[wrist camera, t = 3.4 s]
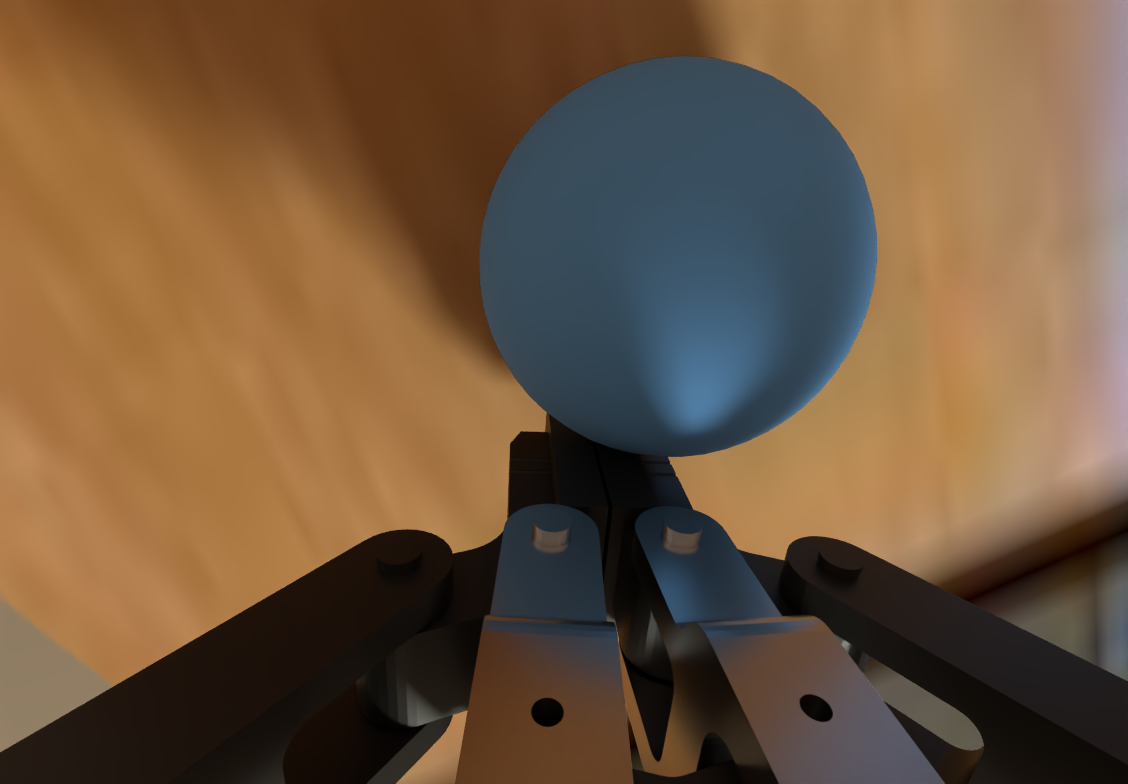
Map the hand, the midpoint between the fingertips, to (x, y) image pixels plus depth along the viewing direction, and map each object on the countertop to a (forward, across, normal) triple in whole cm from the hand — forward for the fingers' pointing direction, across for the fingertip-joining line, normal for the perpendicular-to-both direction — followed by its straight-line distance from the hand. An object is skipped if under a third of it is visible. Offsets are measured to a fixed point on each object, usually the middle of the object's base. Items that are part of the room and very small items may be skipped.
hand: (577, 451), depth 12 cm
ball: (-1, -1, -4) cm, 4 cm away
